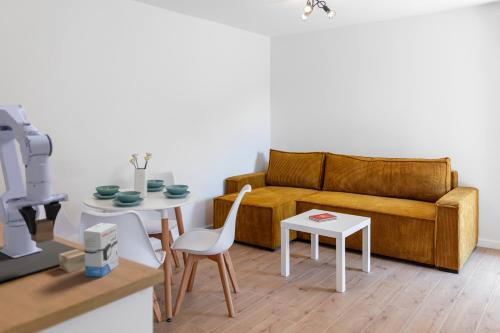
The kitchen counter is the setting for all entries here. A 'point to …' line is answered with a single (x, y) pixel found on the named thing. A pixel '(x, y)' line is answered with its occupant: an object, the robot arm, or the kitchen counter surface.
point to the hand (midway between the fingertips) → (41, 232)
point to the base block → (72, 260)
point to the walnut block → (43, 231)
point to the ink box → (100, 249)
